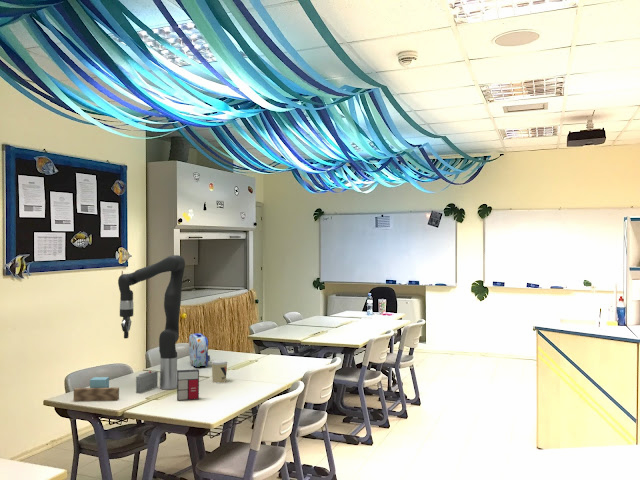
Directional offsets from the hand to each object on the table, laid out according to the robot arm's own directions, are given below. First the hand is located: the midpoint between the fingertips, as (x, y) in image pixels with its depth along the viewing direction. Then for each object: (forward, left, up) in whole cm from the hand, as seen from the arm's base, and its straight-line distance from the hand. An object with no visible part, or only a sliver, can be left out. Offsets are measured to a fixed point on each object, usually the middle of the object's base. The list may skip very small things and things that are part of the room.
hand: (126, 338), depth 316 cm
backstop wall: (+6, +23, -27) cm, 36 cm away
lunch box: (-34, -54, -27) cm, 69 cm away
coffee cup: (-53, -6, -27) cm, 60 cm away
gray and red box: (-41, +33, -27) cm, 59 cm away
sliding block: (+6, +27, -26) cm, 38 cm away
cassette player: (-15, +12, -27) cm, 33 cm away
